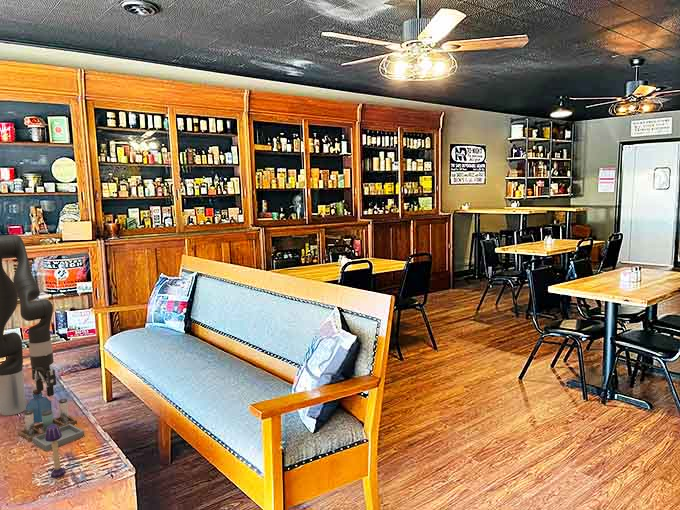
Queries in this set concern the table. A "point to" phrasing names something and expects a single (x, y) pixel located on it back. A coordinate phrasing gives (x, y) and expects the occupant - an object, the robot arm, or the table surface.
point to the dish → (68, 435)
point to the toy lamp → (55, 449)
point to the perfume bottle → (38, 405)
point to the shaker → (47, 419)
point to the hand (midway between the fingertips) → (45, 393)
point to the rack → (56, 421)
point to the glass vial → (29, 423)
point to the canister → (64, 411)
